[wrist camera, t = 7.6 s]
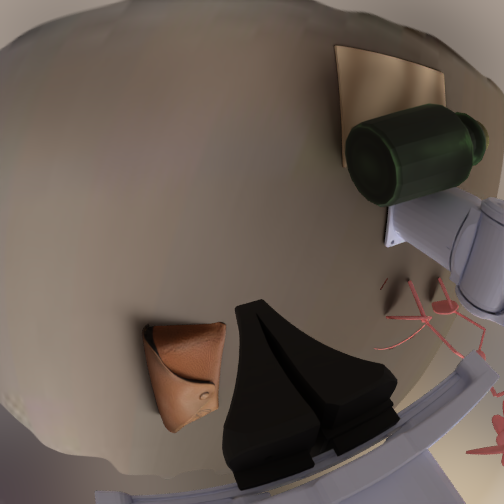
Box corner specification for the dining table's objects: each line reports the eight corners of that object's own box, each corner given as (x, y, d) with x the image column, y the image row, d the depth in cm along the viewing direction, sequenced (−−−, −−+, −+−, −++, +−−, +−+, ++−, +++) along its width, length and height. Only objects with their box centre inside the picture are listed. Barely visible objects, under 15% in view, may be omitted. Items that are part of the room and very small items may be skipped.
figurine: (371, 277, 30) (551, 493, 1) (460, 271, 39) (577, 387, 10) (328, 364, 36) (443, 546, 7) (424, 335, 45) (518, 448, 16)
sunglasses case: (221, 410, 34) (206, 447, 28) (176, 395, 35) (157, 429, 29) (228, 318, 26) (202, 367, 20) (164, 300, 27) (129, 340, 21)
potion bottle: (382, 237, 20) (482, 184, 22) (426, 169, 12) (515, 138, 15) (330, 166, 23) (441, 136, 25) (346, 91, 16) (463, 87, 18)
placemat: (441, 73, 20) (443, 73, 20) (442, 159, 25) (444, 160, 25) (334, 46, 17) (336, 45, 16) (342, 166, 22) (344, 167, 22)
